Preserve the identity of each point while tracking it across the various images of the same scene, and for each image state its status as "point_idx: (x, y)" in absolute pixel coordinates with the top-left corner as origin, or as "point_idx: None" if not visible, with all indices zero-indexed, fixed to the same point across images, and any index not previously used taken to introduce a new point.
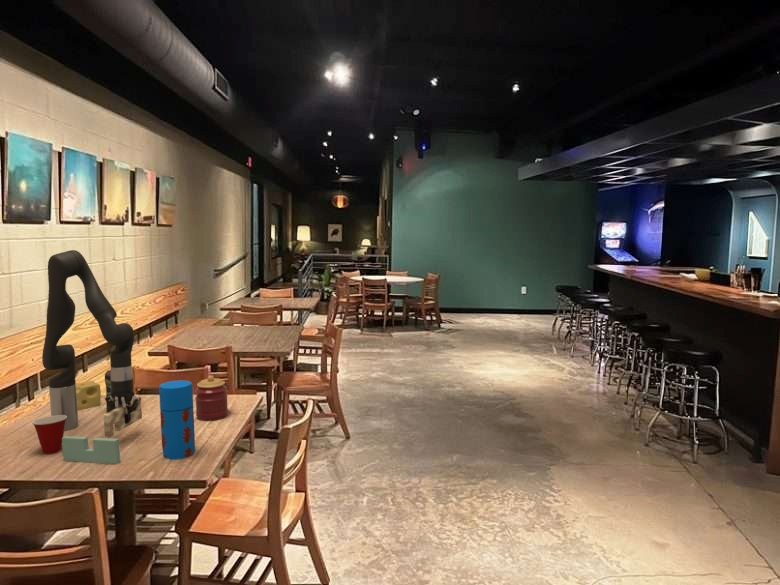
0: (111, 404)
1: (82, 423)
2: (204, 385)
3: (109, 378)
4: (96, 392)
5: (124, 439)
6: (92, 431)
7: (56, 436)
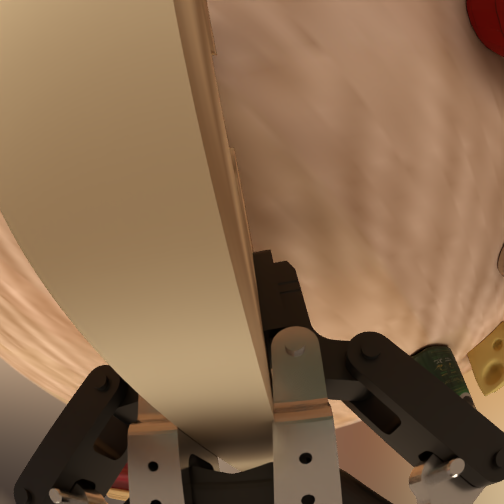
0: (413, 423)
1: (489, 279)
2: (123, 495)
3: None
4: (484, 376)
5: (248, 207)
6: (453, 241)
7: None
